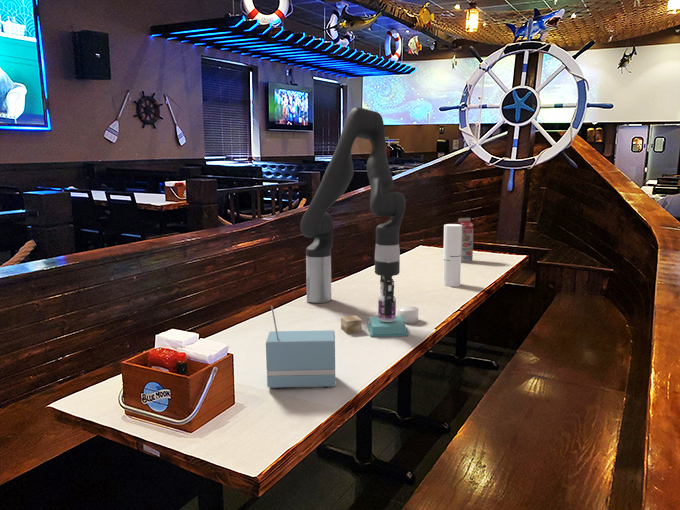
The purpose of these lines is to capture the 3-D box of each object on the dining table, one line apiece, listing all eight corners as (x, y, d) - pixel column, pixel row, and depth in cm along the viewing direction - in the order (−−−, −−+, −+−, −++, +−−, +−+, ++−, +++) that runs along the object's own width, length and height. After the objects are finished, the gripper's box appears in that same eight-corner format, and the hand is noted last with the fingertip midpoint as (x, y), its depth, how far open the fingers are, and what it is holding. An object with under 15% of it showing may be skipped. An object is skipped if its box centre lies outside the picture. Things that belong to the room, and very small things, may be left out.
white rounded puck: (398, 324, 172) (398, 312, 172) (395, 317, 179) (395, 306, 178) (420, 323, 173) (420, 311, 172) (416, 317, 179) (416, 305, 179)
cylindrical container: (460, 287, 219) (462, 226, 214) (442, 286, 220) (443, 226, 216) (459, 283, 226) (461, 224, 221) (442, 282, 227) (444, 223, 222)
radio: (335, 374, 133) (334, 296, 130) (335, 390, 124) (334, 307, 121) (271, 375, 133) (268, 297, 129) (267, 391, 124) (264, 308, 120)
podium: (370, 336, 160) (370, 327, 159) (367, 325, 171) (367, 316, 170) (407, 336, 160) (408, 326, 160) (402, 324, 171) (402, 315, 171)
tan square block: (346, 334, 163) (346, 321, 162) (341, 329, 168) (340, 317, 167) (361, 332, 165) (361, 319, 164) (355, 327, 169) (355, 315, 169)
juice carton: (454, 260, 274) (455, 217, 270) (465, 259, 276) (466, 217, 272) (460, 262, 268) (461, 219, 264) (472, 261, 270) (473, 218, 266)
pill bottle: (381, 323, 162) (381, 292, 160) (375, 318, 167) (375, 288, 165) (398, 321, 163) (398, 291, 162) (392, 316, 168) (392, 287, 167)
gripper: (372, 254, 169) (372, 306, 172) (377, 263, 154) (377, 319, 158) (396, 254, 169) (395, 305, 172) (403, 263, 155) (402, 319, 158)
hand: (386, 312), depth 165 cm, fingers closed on pill bottle, 5 cm apart
